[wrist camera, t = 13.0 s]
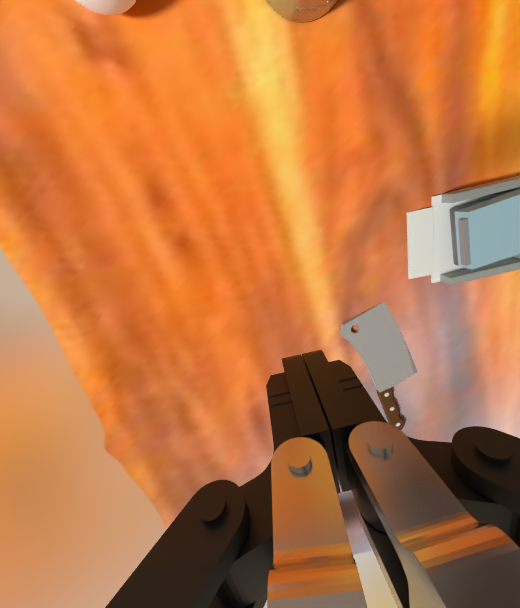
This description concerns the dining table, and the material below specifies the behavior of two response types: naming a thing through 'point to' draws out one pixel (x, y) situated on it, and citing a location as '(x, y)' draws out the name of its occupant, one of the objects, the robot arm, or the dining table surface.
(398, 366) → the kitchen cleaver
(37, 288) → the dining table surface
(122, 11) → the ball
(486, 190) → the dock
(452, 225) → the pale blue lipped slab
